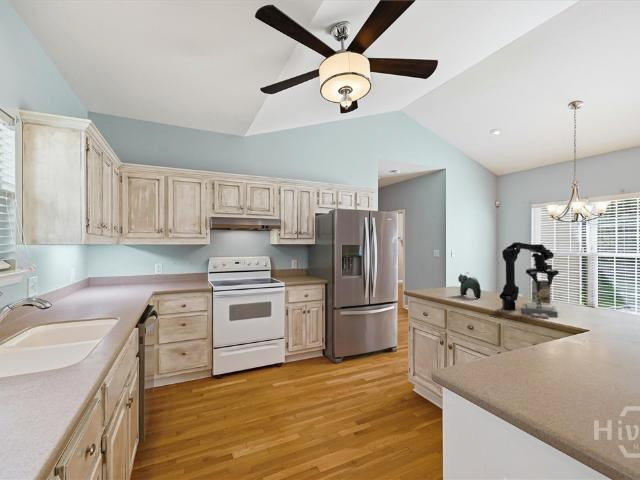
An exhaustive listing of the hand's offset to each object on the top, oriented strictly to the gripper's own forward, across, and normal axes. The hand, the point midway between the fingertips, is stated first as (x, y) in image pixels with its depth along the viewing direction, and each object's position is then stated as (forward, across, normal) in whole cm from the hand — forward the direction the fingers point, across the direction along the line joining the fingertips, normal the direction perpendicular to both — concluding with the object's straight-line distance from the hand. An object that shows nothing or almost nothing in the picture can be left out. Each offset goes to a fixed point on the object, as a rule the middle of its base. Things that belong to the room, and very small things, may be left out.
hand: (543, 283), depth 209 cm
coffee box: (+16, +6, -3) cm, 17 cm away
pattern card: (+8, -20, +36) cm, 42 cm away
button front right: (+7, -18, +26) cm, 32 cm away
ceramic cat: (+11, +45, +23) cm, 51 cm away
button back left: (+8, -7, +24) cm, 26 cm away
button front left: (+6, -11, +30) cm, 33 cm away
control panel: (+10, -12, +26) cm, 30 cm away
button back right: (+9, -13, +20) cm, 25 cm away
